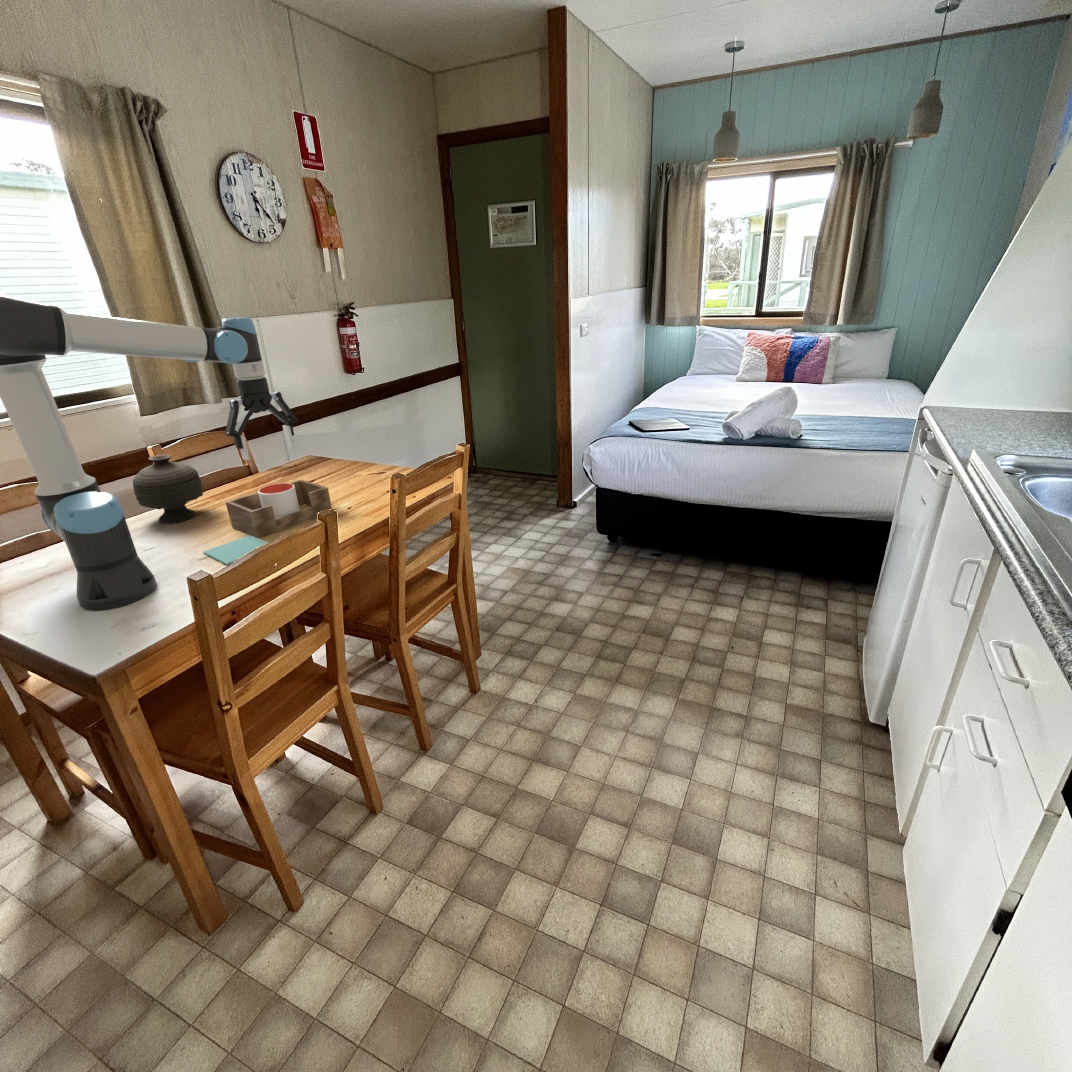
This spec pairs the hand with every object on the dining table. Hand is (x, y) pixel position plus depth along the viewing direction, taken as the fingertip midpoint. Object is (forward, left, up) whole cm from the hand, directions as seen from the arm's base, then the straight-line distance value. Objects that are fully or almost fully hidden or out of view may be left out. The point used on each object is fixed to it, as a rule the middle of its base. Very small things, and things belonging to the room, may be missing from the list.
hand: (269, 453), depth 168 cm
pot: (-18, +31, -21) cm, 41 cm away
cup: (0, 0, -21) cm, 21 cm away
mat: (-19, -11, -20) cm, 30 cm away
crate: (0, 0, -20) cm, 20 cm away
